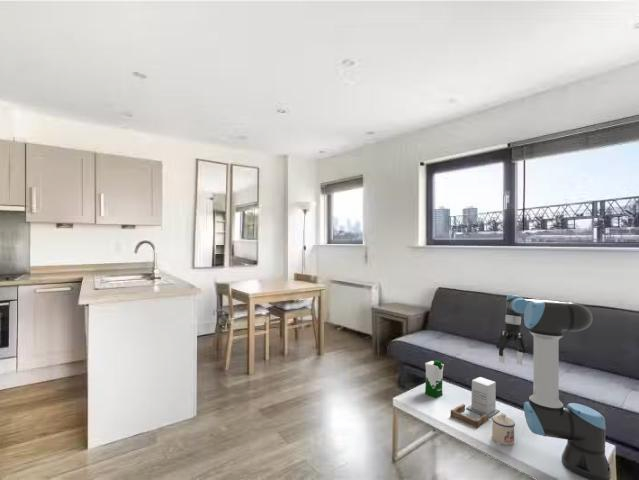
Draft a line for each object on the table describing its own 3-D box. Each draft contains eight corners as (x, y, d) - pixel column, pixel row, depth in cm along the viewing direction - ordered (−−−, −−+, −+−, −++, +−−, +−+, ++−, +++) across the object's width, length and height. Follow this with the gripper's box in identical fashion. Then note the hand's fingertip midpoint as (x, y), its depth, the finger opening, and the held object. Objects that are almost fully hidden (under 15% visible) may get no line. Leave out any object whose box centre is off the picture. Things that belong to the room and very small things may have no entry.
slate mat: (489, 418, 168) (489, 417, 168) (466, 408, 177) (466, 407, 177) (499, 411, 175) (499, 410, 175) (477, 402, 185) (477, 401, 185)
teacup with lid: (507, 448, 142) (507, 421, 143) (487, 437, 150) (487, 412, 150) (522, 440, 149) (522, 414, 149) (502, 430, 156) (502, 406, 157)
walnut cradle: (476, 428, 158) (476, 421, 158) (450, 416, 169) (450, 410, 169) (488, 420, 166) (488, 414, 166) (462, 409, 176) (462, 404, 176)
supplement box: (479, 403, 182) (479, 376, 183) (496, 410, 175) (496, 381, 176) (470, 408, 177) (471, 379, 177) (487, 415, 170) (488, 385, 170)
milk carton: (436, 399, 188) (437, 363, 188) (422, 393, 195) (423, 359, 195) (444, 395, 193) (445, 360, 193) (431, 389, 200) (431, 356, 201)
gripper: (522, 325, 191) (520, 363, 187) (490, 320, 182) (487, 360, 178) (534, 327, 184) (533, 366, 180) (502, 322, 175) (500, 363, 171)
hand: (510, 363), depth 179 cm, fingers open, 13 cm apart
